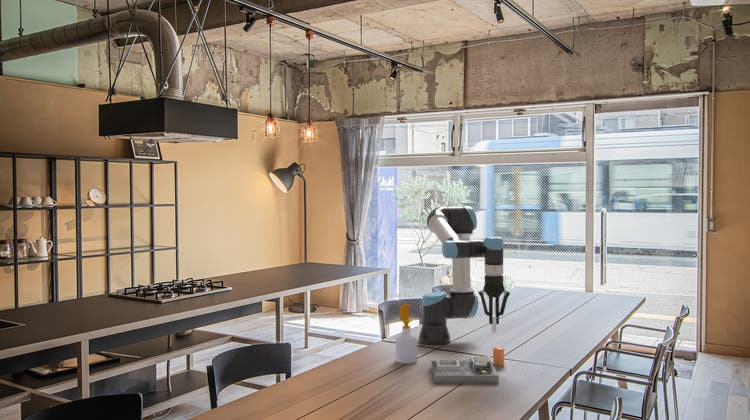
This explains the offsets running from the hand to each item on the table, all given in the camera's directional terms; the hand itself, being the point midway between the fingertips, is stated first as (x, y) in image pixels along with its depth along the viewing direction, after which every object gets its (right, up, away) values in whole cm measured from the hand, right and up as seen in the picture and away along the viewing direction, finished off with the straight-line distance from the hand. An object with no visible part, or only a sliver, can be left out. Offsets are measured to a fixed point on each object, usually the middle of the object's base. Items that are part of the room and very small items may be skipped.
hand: (494, 331), depth 252 cm
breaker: (-7, -9, -10) cm, 15 cm away
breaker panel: (-14, -15, -11) cm, 23 cm away
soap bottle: (-35, -15, +10) cm, 39 cm away
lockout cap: (+2, -14, +2) cm, 15 cm away
